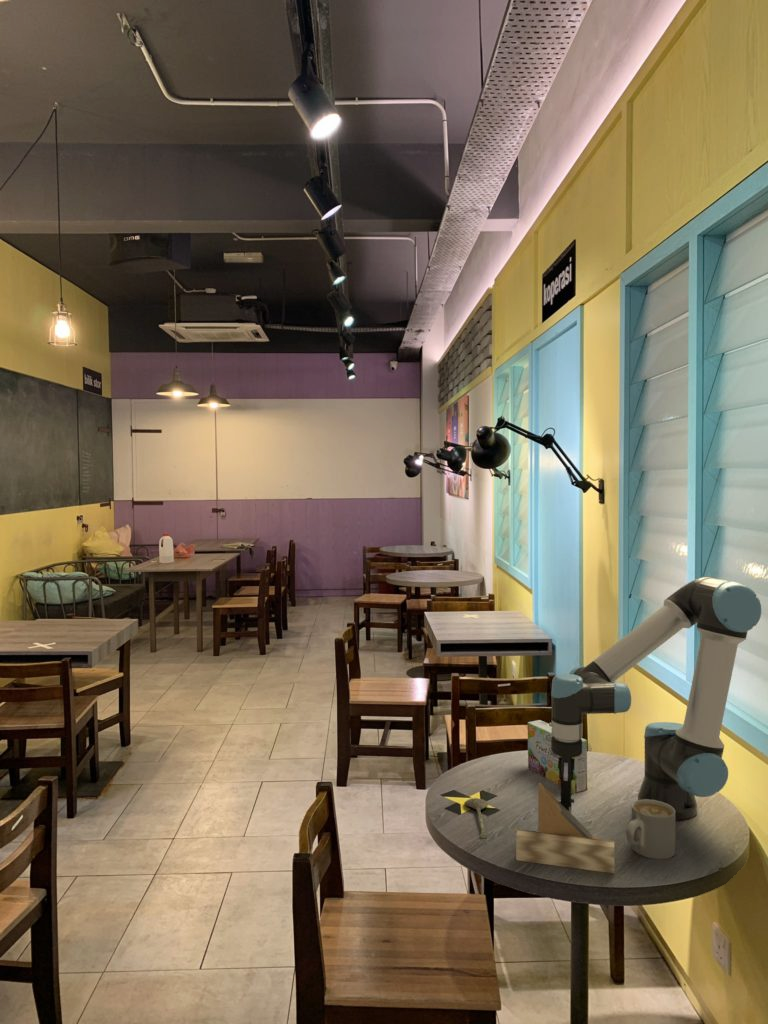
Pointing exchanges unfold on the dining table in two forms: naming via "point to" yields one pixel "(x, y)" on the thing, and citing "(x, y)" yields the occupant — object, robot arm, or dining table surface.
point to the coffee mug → (652, 829)
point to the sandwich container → (557, 817)
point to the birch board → (565, 850)
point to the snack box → (553, 757)
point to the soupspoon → (478, 811)
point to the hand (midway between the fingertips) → (565, 829)
